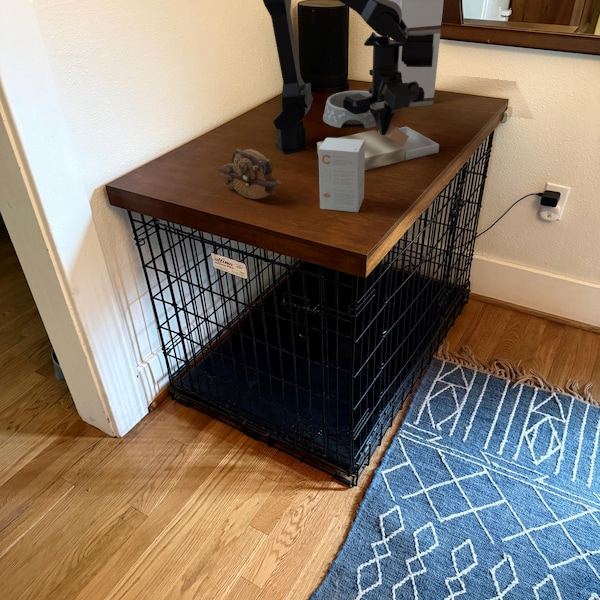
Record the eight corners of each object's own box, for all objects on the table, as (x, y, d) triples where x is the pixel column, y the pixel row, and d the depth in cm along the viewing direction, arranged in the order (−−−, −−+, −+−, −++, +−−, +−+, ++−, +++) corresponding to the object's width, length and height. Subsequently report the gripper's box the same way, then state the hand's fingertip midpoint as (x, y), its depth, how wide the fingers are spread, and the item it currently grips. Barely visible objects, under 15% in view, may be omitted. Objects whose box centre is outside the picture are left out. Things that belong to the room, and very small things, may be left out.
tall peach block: (389, 137, 133) (396, 126, 132) (377, 131, 137) (385, 120, 136) (401, 147, 136) (409, 136, 135) (390, 140, 140) (397, 130, 139)
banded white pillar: (421, 93, 172) (432, -40, 150) (433, 104, 163) (447, -35, 142) (385, 97, 170) (391, -37, 149) (395, 108, 162) (403, -32, 141)
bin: (405, 160, 133) (405, 152, 132) (374, 141, 143) (375, 133, 142) (438, 152, 136) (439, 144, 134) (406, 134, 146) (406, 126, 145)
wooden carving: (215, 192, 124) (208, 148, 118) (228, 184, 127) (222, 141, 121) (274, 209, 116) (271, 164, 110) (287, 200, 119) (284, 156, 113)
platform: (344, 175, 128) (344, 162, 126) (317, 154, 138) (317, 142, 136) (404, 160, 133) (405, 148, 131) (373, 141, 143) (374, 129, 141)
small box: (364, 199, 118) (365, 139, 110) (357, 213, 113) (359, 151, 105) (326, 195, 120) (326, 136, 112) (319, 209, 115) (317, 148, 108)
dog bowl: (387, 130, 150) (388, 109, 146) (319, 128, 152) (318, 109, 149) (389, 108, 163) (390, 89, 160) (326, 107, 166) (326, 89, 163)
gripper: (367, 82, 116) (365, 154, 126) (442, 67, 122) (435, 137, 131) (341, 69, 124) (342, 138, 134) (413, 57, 130) (408, 123, 140)
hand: (382, 134), depth 134 cm, fingers closed
